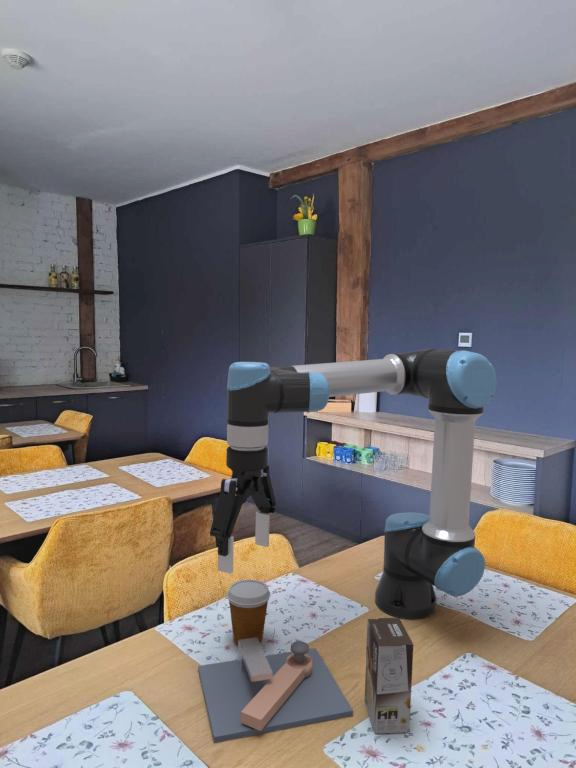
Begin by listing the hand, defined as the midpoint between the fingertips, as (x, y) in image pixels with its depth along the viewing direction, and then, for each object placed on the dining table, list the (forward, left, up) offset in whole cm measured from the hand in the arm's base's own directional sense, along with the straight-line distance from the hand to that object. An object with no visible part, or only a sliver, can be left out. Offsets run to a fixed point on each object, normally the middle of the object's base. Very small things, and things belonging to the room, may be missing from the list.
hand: (244, 557), depth 104 cm
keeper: (-2, 0, -26) cm, 26 cm away
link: (-6, +5, -24) cm, 26 cm away
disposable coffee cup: (-4, -15, -26) cm, 30 cm away
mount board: (-5, +3, -26) cm, 26 cm away
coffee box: (-23, +14, -26) cm, 38 cm away
